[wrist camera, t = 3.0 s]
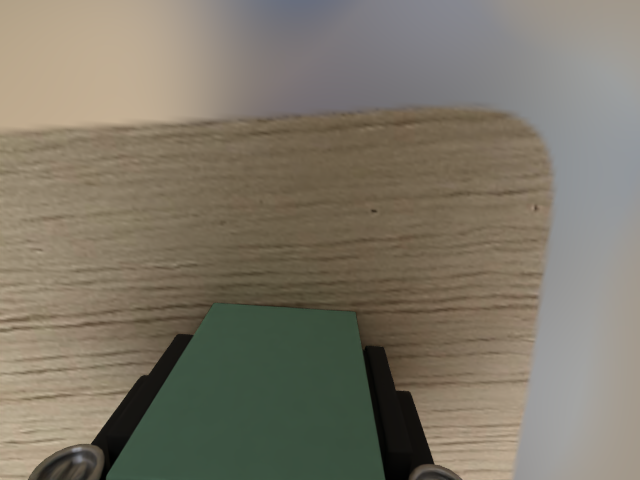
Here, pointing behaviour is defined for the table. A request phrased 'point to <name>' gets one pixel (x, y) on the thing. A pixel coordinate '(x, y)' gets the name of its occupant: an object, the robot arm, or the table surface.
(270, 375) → the pad block
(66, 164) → the table surface
